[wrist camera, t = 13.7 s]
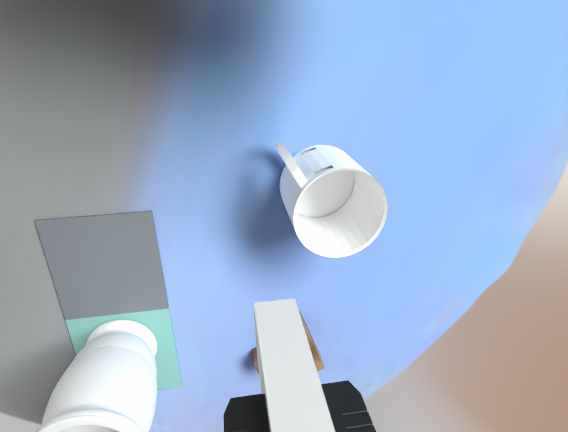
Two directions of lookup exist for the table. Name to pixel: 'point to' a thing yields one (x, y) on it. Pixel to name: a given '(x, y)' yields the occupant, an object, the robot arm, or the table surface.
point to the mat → (111, 279)
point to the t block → (313, 349)
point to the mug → (331, 200)
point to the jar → (107, 383)
